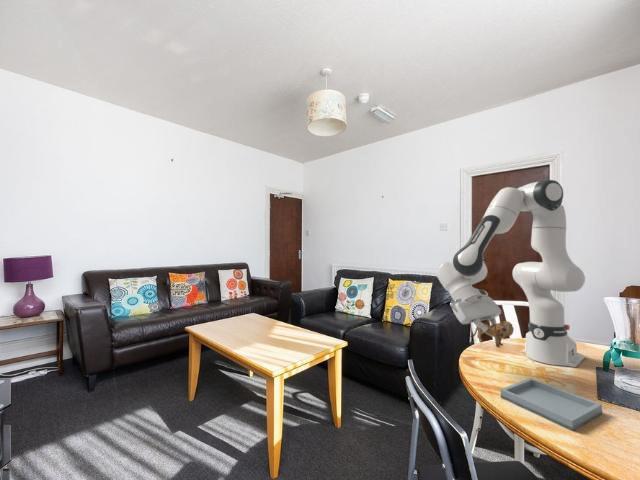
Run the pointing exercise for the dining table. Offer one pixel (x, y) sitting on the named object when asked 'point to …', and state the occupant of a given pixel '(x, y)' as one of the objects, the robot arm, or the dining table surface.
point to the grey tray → (552, 403)
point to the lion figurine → (496, 332)
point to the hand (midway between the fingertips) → (492, 329)
